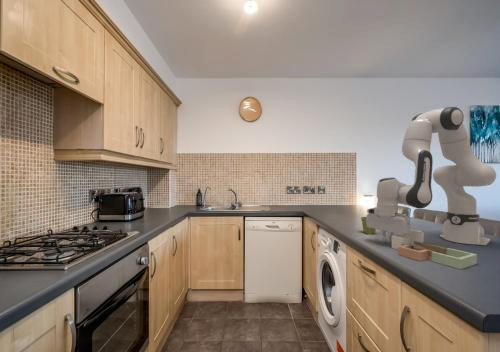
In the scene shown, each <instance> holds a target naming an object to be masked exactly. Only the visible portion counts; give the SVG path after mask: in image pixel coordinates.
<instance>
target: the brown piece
mask: <svg viewBox="0 0 500 352" xmlns="http://www.w3.org/2000/svg"><path fill="white" fill-rule="evenodd" d="M403 245H407V244H401V246H403ZM408 246H409V249H411V245H408ZM446 248H447V247H443V246H439V245H434V244H430V243H429V244H428V243H425V242H423V243H421V242H417V241H414V246H413V250H417V251H421V250H428V259H427V260H430V261H431V260H432V252H437V253H441V254H445V255H446Z"/></svg>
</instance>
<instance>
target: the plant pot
mask: <svg viewBox="0 0 500 352" xmlns="http://www.w3.org/2000/svg"><path fill="white" fill-rule="evenodd" d="M366 217H367V216H361V217H360V219H361V223H362V229H363V230H362V231H363V233H364V234H367V235H374V234H376V230H377V229H374V228H369V227H367V225H366Z"/></svg>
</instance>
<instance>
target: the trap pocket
mask: <svg viewBox="0 0 500 352" xmlns="http://www.w3.org/2000/svg"><path fill="white" fill-rule="evenodd" d="M397 251H398V252H397V253H398V256H400V257H404V258H408V259H411V260H413V261H419V262H422V261H426V260H428V250H421V251H419V250H415V249H414V248H410V249H409V246H408V245H403V246H398V249H397Z"/></svg>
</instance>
